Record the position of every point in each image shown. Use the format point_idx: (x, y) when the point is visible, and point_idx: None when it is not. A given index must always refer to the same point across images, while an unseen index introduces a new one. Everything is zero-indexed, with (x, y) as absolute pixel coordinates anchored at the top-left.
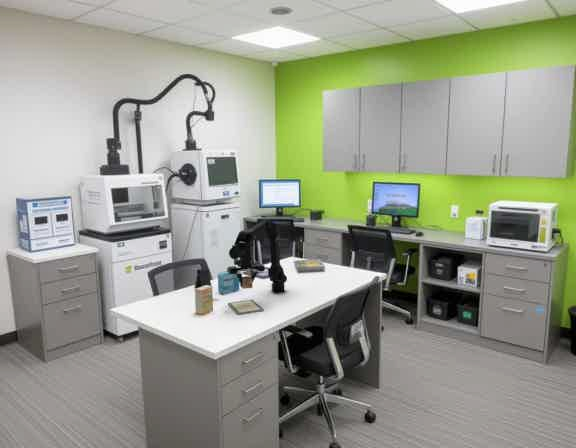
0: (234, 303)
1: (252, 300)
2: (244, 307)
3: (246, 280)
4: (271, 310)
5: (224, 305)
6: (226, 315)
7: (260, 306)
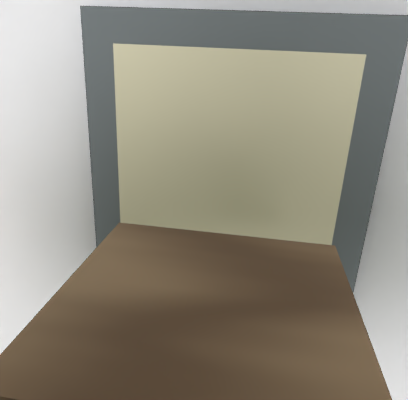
0: (147, 66)
1: (389, 56)
2: None
3: None
4: (397, 380)
5: (49, 33)
6: (26, 287)
7: (354, 284)
